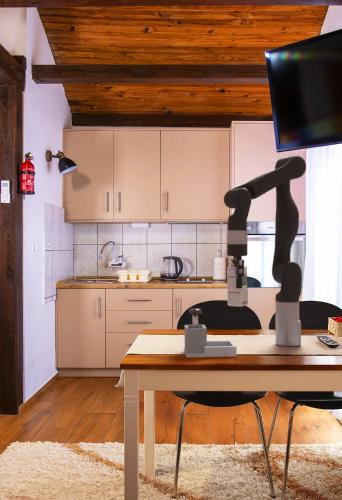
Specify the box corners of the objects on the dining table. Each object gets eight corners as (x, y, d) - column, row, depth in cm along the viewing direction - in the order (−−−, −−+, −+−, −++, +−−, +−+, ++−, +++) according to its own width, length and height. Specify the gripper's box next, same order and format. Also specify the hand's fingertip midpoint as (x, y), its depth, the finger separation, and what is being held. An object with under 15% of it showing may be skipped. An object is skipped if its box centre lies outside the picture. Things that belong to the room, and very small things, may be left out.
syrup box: (241, 306, 171) (241, 266, 171) (226, 305, 174) (226, 266, 174) (247, 305, 176) (247, 266, 176) (233, 304, 179) (233, 265, 179)
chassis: (231, 349, 181) (231, 323, 181) (236, 356, 170) (236, 328, 170) (184, 350, 180) (184, 324, 180) (186, 357, 169) (186, 329, 169)
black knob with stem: (200, 330, 177) (200, 308, 177) (201, 333, 173) (201, 310, 173) (188, 331, 177) (188, 308, 177) (189, 333, 173) (189, 310, 173)
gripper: (251, 243, 168) (251, 289, 168) (243, 243, 182) (243, 285, 182) (230, 242, 167) (230, 289, 168) (224, 243, 182) (223, 285, 182)
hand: (237, 287), depth 175 cm, fingers closed on syrup box, 7 cm apart
